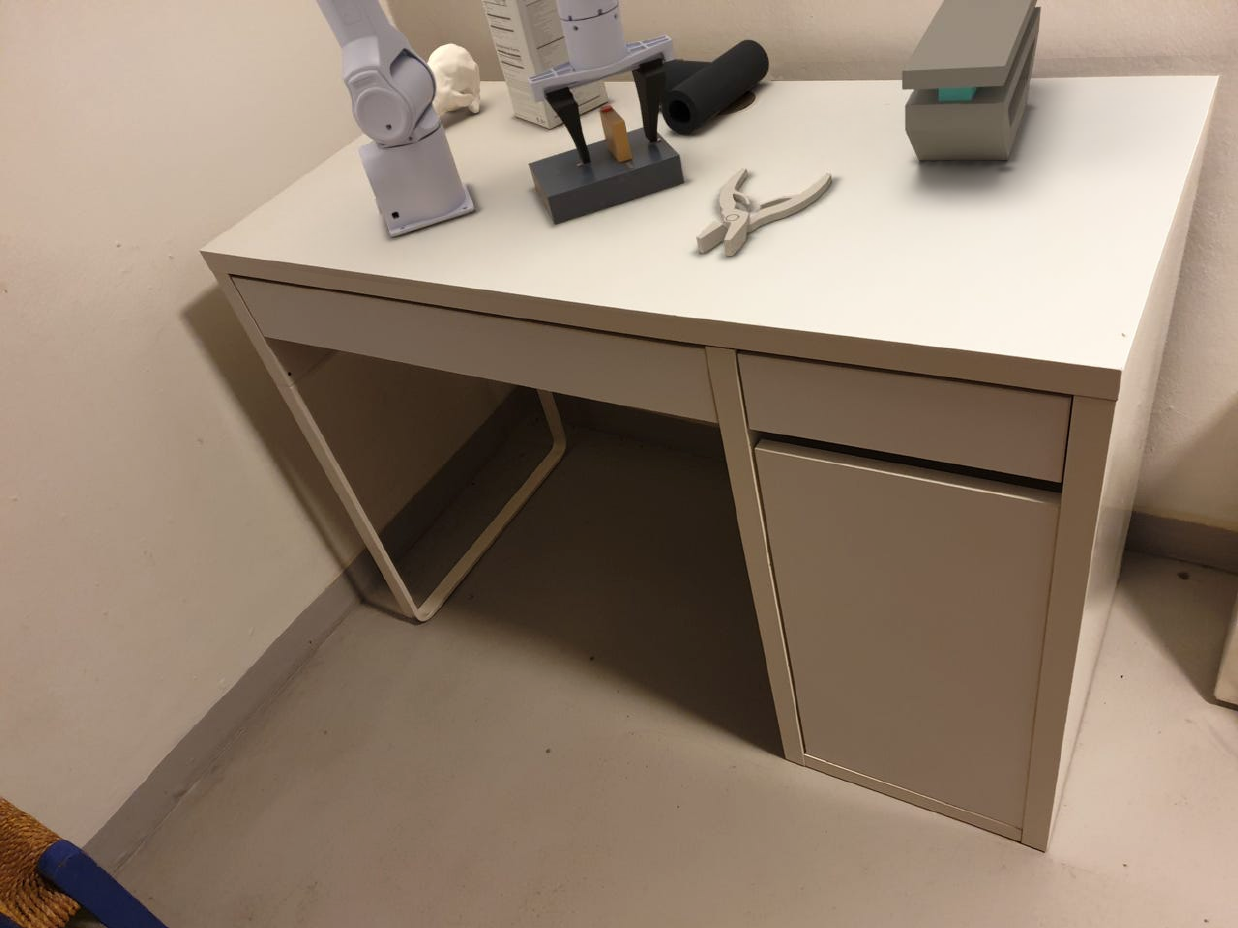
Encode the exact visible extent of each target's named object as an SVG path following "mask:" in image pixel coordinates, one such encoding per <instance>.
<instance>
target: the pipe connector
mask: <svg viewBox="0 0 1238 928" xmlns="http://www.w3.org/2000/svg"><path fill="white" fill-rule="evenodd" d="M663 65H664V66H665V67H666V68H667V81H666V84H665V87H664V90H663V94H662V97H661V102H660V109H661V115H662V119H663V121H664V122H665V124H666V125H667V127H668V128H669V129H670V130H672V132H674V133H675V134H678V135H682V136H687V135H691V134H692V133H694V132H696V130H698V129H699V128H701V127H702V126H703V125H704V124H706V123H707V122H708V121H709V120H711V119H712V118H714V117H715V116H717V114H719V113H720V112H721V111H723V110H724V109H726V108H727V107H728V106H730V105H731V104H732V103H733V102H735V101H736V100H738V99H739V98H740V97H741V96H743V95H744V94H745V93H747V92H748V91H749V90H751V89H752V88H754V87H755V86H756V85H757V84H758V83H760V82H761V81H763V79H765V78H766V76H767V75H768V73H769V68H770V60H769V56H768V53H767V51H766V50H765V48H764V47H763V46H762V45H761V44H760V43H759V42H758V41H755V40H753V39H744V40H741V41H739V42H738V43H737V44H735V45H734V46H733V47H731V48H729V49H728V50H727V51H725V52H724V53H722V54H721V55H719V56H718V57H716V58H715V59H714V60H712V61H702V60H701V61H700V60H685V59H683V58H675V60H672V61H668V62H664V61H663Z"/></svg>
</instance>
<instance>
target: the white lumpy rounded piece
mask: <svg viewBox="0 0 1238 928" xmlns="http://www.w3.org/2000/svg"><path fill="white" fill-rule="evenodd" d="M426 63H427V64H428V65H429V67H430V68H431V70H432V71H433V73H434V76H435V79H436V84H437V91H436V96H435V99H434V101H433V102H432V103H433V106H434V109H435V111H436V112H437V114H438V115H439V116H440V115H442V114H443V113H445V112H455V111H457V110H459V109H460V108H461V107H468V109H469V111H470V112H471V113H472V114H477V113H479V112H480V100H481V88H480V87H481V77H480V66H479V65H478V64H477V63H476V62H475V61H474V59H473V57H472V55H471V53H470V52H469V51H468V50H467V49H466V48H465V47H462V46H460V45H457V44H455V43H446V44H444V45H441V46H439V47H438V48H436V49H435V50H434V51H433V52H432V53H431V54H430V56H429V58H428V60H427V62H426Z"/></svg>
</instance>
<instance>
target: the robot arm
mask: <svg viewBox="0 0 1238 928" xmlns="http://www.w3.org/2000/svg"><path fill="white" fill-rule="evenodd" d="M315 1H316V4H317V5H318V7H319V9H320V11H321V13H322V15H323V16H324V18H325V21H326V22H327V24H328V27H329V28H330V30H331V32H332V33H333V35H334V38H335V39H336V41H337V43H338V44H339V47H340V49H341V58H342V59H341V62H342V64H341V65H342V67H341V68H342V81H343V82H344V84H345V85H344V86H345V87H346V89H347V90H348V93H349V96H350V98H351V111H352V115H353V119H354V121H355V123H356V126H358V129H360V131H361V132H362V133H363V134H364V135H365V136H366V137H368V138H369V139H371V140H372V141H370V142H368V143H366V144H363V145H361V146H359V147H358V153H359V158H360V160H361V164H362V167H363V169H364V172H365V175H366V177H367V179H368V182H369V185H370V187H371V190H372V192H373V195H374V197H375V200H374V201H375V203H376V206H377V210H378V211H379V214H380V215H382V217H383V219H384V222H385V224H386V227H387V230H388V233H389V235H390V237H397V236H400V235H403V234H407V233H409V232H412V231H416V230H419V229H422V228H425V227H428V226H432V225H434V224H437V223H441V222H443V221H447V220H450V219H453V218H456V217H459V216H463V215H465V214H466V215H467V214H469V213H472V212H474V211H475V205H474V203H473V200H472V197H471V194H470V192H469V190H468V187H467V185H466V183H465V181H462V180H461V175H460V174H459V170H458V168H457V164H456V161H455V158H454V156H453V153H452V150H451V147H450V144H449V141H448V137H447V135H446V132H445V129H444V126H443V123H442V121H441V117H440V115H438V114H437V112H436V111H435V109H434V106H433V103H432V102H433V101H434V99H435V96H436V91H437V84H436V79H435V76H434V73H433V71H432V70H431V68H430V67H429V65H428V64H427V63H428V62H426V61H425V60H424V59H423V58H422V57H421V56H419V55H418V54H417V53H416V51H415V50H414V48H413V47H412V46H411V43H410V42H409V39H408V37H407V36H406V34H404V33H403V32H402V31H400V30H399V29H397V28H396V27H394V26H393V25H392V24H391V23H390V22H389V20H388V17H387V15H386V13H385V11H384V9H383V7H382V5H381V3H380V1H379V0H315ZM619 3H620V2H619V0H556V4H557V8H558V12H559V17H560V21H561V25H562V30H563V34H564V38H565V42H566V47H567V51H568V55H569V61H567V62H565V63H562V64H560V65H558V66H556V67H553V68H551V69H549V70H547V71H544V72H542V73H539V74H537V75H534V76H531V77H528V78H527V81H528V85H529V88H530V92H531V96H532V98H533V100H534V101H535V102H536V103H537V102H540V101H543V100H545V99H546V100H547V102H548V103H549V104H550V106H551V107H552V109H553V110H554V111H555V112H556V114H557V115H558V116H559V118H560V119H561V121H562V122H563V123H562V124H563V125H564V127H565V128H566V131H567V132H568V135H570V138H571V140H572V142H573V143H574V145H575V149H576V148H577V150H578V153H579V156H580V159H581V160H582V162H583V163H584V164H587V163H590V162H591V160H590V155H589V151H588V148H587V145H588V144H587V141H586V138H585V135H584V131H583V125H582V121H581V114H579V108H578V103H577V102H576V101H575V99H574V97H573V93H571V92H570V90H571V89H574V88H577V87H580V86H584V85H587V84H590V83H593V82H596V81H600V80H603V79H604V80H606V79H609V78H612V77H615V76H620V75H622V74H625V73H628V72H629V73H630V72H631V74H632V77H633V81H634V85H635V88H636V93H637V98H638V101H639V106H640V114H641V120H642V127H643V128H644V132H645V136H646V138H647V139H648V140H649V141H650V142H651V143H653V142H656V141H657V132H658V122H659V115H660V114H659V112H660V108H661V106H660V102H661V97H662V94H663V90H664V87H665V84H666V81H667V68H666V67H665V66H664V65H663V61H664V62H668V61H672V60H675V59H676V55H675V54H676V53H675V47H674V42H673V39H672V38H671V37H670V36H668V35H667V34H664V35H660V36H657V37H653V38H649V39H644V40H639V41H634V42H629V43H627V40H626V35H625V29H624V24H623V18H622V14H621V9H620V8H621V7H620V4H619Z"/></svg>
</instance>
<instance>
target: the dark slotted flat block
mask: <svg viewBox="0 0 1238 928" xmlns="http://www.w3.org/2000/svg"><path fill="white" fill-rule="evenodd" d="M627 136H628V141H629V146H630V151H631V156H632V159H629V160H626V161H623V162H619V161H618V160H617V159H616V158H615V156H614V155H613V154H612V153H611V151H610V150H609V149H608V147H607V145H606V140H605V138H604V139H602V140H597V141H595V142H591V143H589V144H586V145H587V148H588V151H589V155H590V160H591V162H590V163H587V164H584V163H583V162H582V160H581V159H580V156H579V153H578V150H577V148H576V147H575V148H574V149H570V150H567V151H564V152H561V153H558V154H554V155H551V156H548V157H544V158H541V159H538V160H535V161H531V162H529V163H528V168H529V171H530V174H531V178H532V182H533V186H534V188H535V191H536V192H537V194H538V196H539V198H540V200H541V202H542V204H543V206H544V207H545V209H546V211H547V213H548V214H549V217H550V218H551V220H552V222H553V224H554V225H557V224H561V223H563V222H567V221H570V220H574V219H576V218H580V217H583V216H585V215H589V214H592V213H595V212H597V211H598V212H599V211H601V210H604V209H607V208H610V207H613V206H616V205H619V204H622V203H626V202H628V201H632V200H634V199H635V200H636V199H638V198H641V197H644V196H647V195H650V194H653V193H656V192H660V191H662V190H667V189H669V188H672V187H675V186H678V185H681V184H684V183H685V180H684V173H683V168H682V167H683V166H682V161H681V155H680V153H678V152H677V151H676V150H675V148H673V146H672V145H671V144H670V143H669V142H668V141H667V140H666V139H665V138H664V137H663V136H662V135H661V134H660V133H659V131H657V141H656V142H653V143H651V142H650V141H649V140H648V139H647V138H646V136H645V132H644V128H643V126H641V127H639V128H636V129H633V130H630V131H627Z"/></svg>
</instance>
